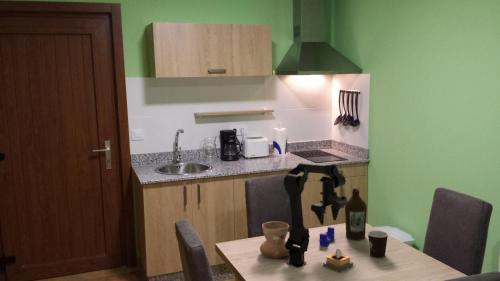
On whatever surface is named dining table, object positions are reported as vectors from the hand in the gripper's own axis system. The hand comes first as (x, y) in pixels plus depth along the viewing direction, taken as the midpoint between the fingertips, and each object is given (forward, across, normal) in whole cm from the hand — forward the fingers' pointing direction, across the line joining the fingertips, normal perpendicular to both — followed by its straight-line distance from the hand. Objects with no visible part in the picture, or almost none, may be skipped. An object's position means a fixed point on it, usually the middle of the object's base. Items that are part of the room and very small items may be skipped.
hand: (328, 222), depth 212 cm
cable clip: (+13, +5, +6) cm, 15 cm away
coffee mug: (+13, +10, -20) cm, 26 cm away
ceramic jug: (+13, -23, +12) cm, 29 cm away
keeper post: (+12, -13, -16) cm, 24 cm away
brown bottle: (+13, +21, 0) cm, 25 cm away
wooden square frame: (+11, -13, -16) cm, 23 cm away
